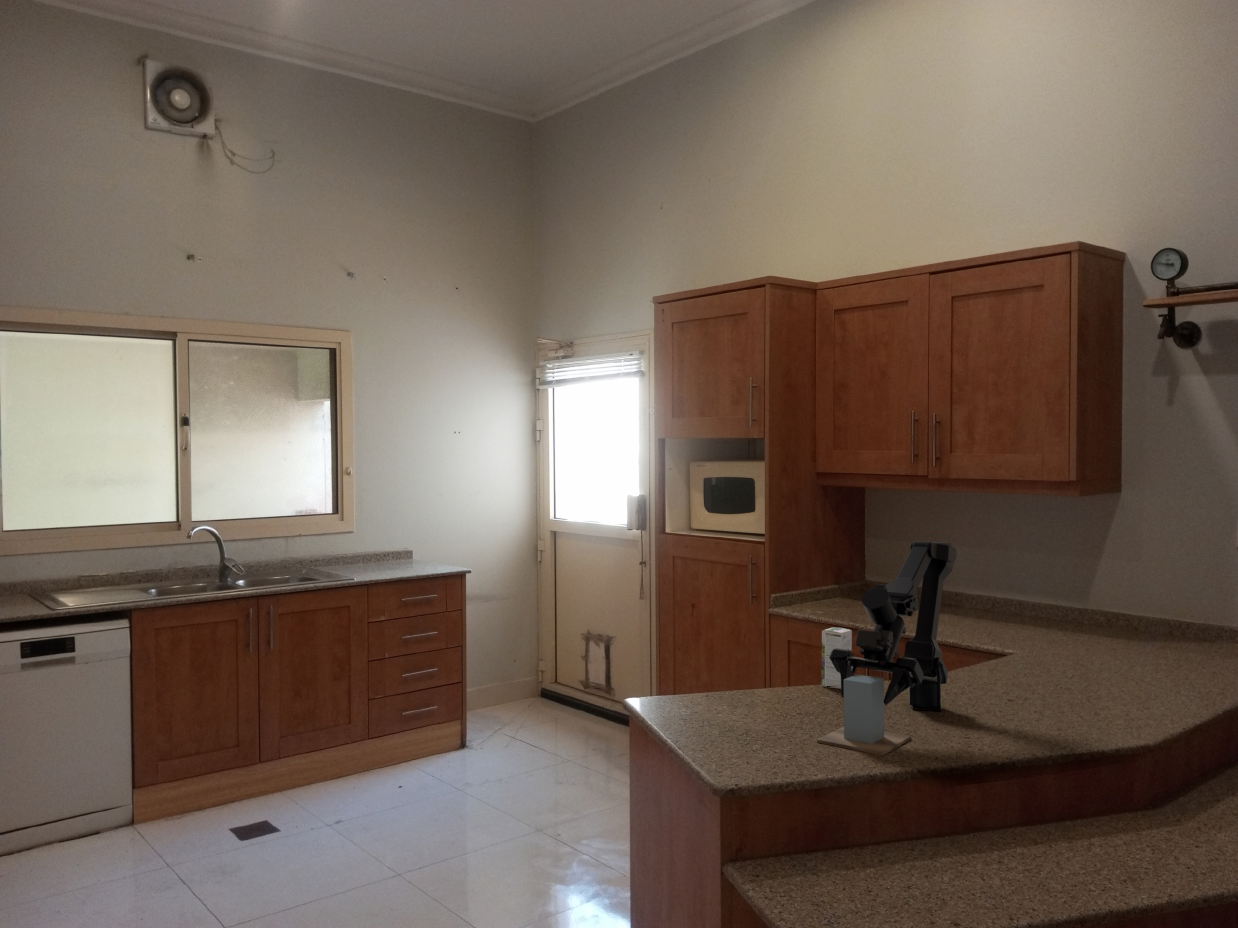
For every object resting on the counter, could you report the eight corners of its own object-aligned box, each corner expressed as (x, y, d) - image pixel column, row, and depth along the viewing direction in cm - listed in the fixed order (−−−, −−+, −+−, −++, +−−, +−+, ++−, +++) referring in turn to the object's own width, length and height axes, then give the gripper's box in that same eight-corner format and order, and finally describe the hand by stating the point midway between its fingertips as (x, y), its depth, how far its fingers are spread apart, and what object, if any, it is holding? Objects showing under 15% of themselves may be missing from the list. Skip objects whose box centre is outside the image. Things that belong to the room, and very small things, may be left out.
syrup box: (831, 682, 241) (830, 626, 241) (852, 685, 237) (851, 628, 237) (821, 686, 236) (820, 629, 236) (842, 689, 232) (842, 631, 233)
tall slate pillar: (856, 731, 193) (856, 674, 193) (884, 736, 189) (883, 678, 189) (844, 738, 188) (843, 679, 188) (871, 743, 184) (871, 683, 184)
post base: (847, 727, 198) (847, 703, 198) (911, 738, 189) (910, 714, 190) (816, 742, 188) (816, 716, 188) (882, 755, 179) (882, 728, 179)
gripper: (832, 610, 199) (808, 670, 190) (917, 619, 187) (895, 683, 178) (849, 641, 205) (826, 701, 196) (932, 651, 193) (912, 716, 184)
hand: (863, 700), depth 188 cm, fingers open, 9 cm apart
